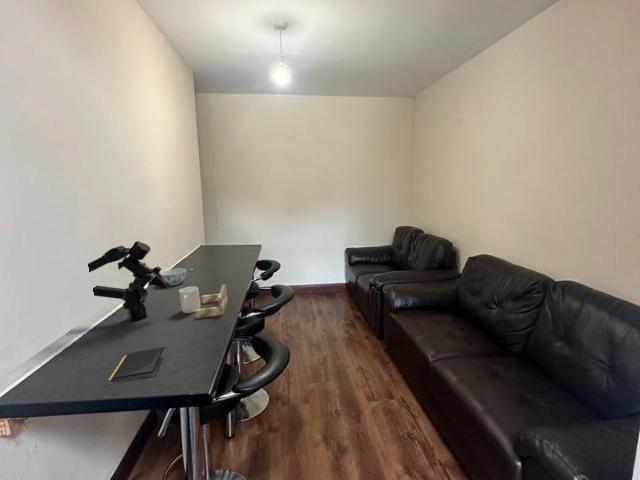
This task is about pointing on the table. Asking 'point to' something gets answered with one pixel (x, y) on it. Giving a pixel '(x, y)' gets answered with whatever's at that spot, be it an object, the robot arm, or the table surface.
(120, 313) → the table surface
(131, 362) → the dark grey notebook
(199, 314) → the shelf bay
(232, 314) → the table surface
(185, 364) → the table surface
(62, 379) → the table surface
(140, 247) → the robot arm
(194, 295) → the cup
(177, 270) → the chinaware
